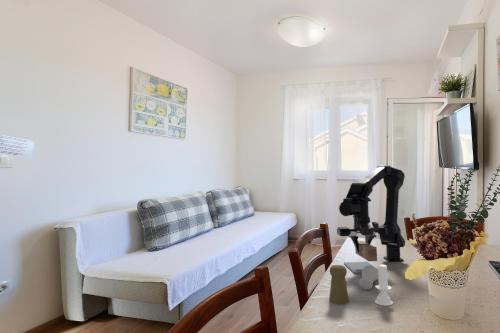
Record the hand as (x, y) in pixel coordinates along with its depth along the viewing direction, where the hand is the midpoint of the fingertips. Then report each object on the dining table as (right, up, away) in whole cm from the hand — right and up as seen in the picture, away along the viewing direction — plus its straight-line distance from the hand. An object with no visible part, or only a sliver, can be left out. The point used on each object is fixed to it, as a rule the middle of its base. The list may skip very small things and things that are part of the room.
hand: (362, 252), depth 146 cm
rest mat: (0, -7, +2) cm, 7 cm away
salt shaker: (0, -4, -12) cm, 13 cm away
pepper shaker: (-17, -8, -32) cm, 37 cm away
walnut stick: (0, -1, -4) cm, 4 cm away
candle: (-4, -8, -35) cm, 36 cm away
